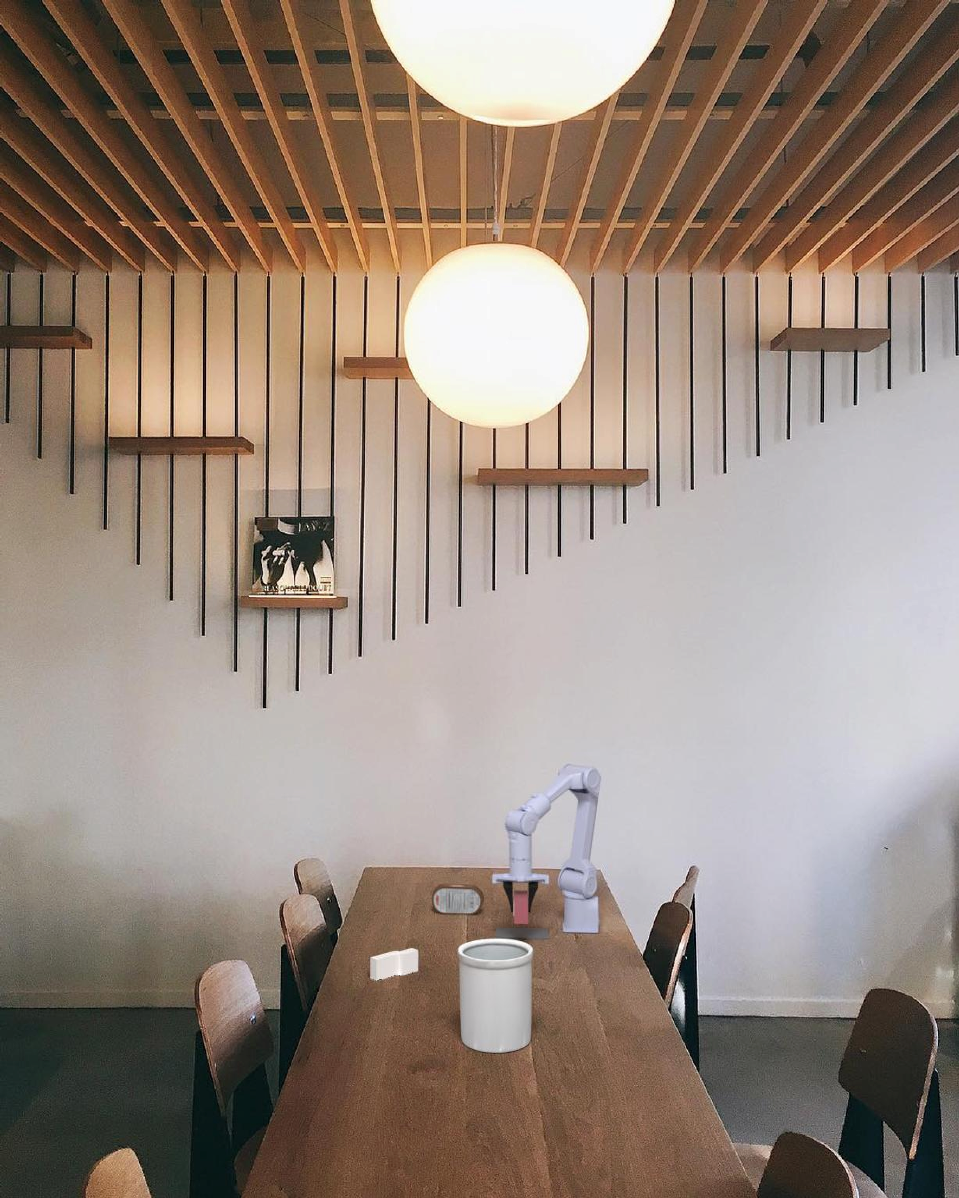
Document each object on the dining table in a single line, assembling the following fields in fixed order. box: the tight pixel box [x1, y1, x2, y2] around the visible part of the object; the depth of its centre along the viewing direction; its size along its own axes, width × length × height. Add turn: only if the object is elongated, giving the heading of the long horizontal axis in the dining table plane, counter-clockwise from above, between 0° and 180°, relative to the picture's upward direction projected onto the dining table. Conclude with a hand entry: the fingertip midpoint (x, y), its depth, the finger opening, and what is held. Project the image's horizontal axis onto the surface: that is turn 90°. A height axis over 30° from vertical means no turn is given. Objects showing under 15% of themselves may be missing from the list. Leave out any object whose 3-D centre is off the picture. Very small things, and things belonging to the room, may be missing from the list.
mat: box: [494, 927, 549, 940], centre depth 260 cm, size 14×8×1 cm, turn 86°
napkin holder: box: [369, 947, 419, 982], centre depth 228 cm, size 15×11×6 cm
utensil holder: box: [457, 938, 534, 1054], centre depth 191 cm, size 15×15×18 cm
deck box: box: [512, 889, 529, 925], centre depth 249 cm, size 4×9×6 cm, turn 178°
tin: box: [431, 882, 485, 916], centre depth 279 cm, size 15×3×8 cm, turn 84°
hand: (520, 911), depth 249 cm, fingers closed on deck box, 4 cm apart
